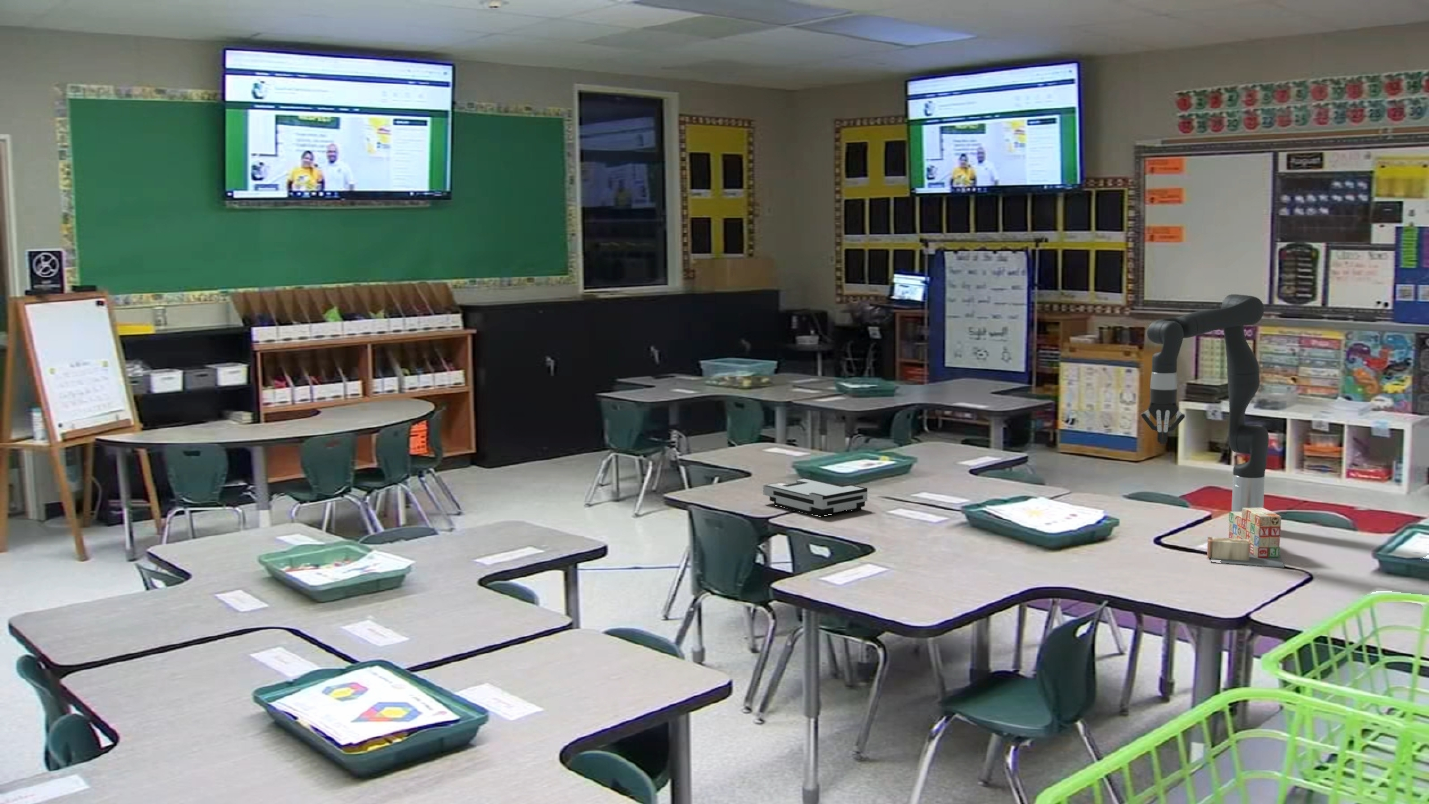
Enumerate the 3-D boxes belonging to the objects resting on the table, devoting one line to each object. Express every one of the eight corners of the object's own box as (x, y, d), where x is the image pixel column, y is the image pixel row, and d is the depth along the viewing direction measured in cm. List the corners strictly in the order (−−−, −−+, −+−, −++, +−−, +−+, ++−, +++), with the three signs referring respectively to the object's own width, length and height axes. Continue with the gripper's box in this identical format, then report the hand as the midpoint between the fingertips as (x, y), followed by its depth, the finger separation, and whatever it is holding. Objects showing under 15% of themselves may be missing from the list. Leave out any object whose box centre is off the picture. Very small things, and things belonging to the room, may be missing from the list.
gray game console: (807, 496, 446) (807, 474, 445) (867, 511, 420) (867, 488, 419) (763, 504, 434) (763, 482, 433) (822, 520, 408) (822, 496, 407)
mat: (1209, 551, 357) (1209, 550, 357) (1280, 556, 350) (1280, 555, 350) (1211, 562, 345) (1211, 561, 345) (1284, 568, 338) (1284, 566, 338)
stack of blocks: (1227, 541, 369) (1229, 501, 368) (1248, 541, 369) (1250, 501, 368) (1258, 557, 348) (1259, 515, 346) (1279, 557, 348) (1281, 515, 346)
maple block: (1207, 537, 353) (1248, 539, 349) (1207, 553, 353) (1248, 556, 350) (1208, 541, 348) (1249, 543, 344) (1207, 557, 349) (1249, 560, 345)
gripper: (1187, 386, 363) (1185, 442, 365) (1140, 385, 367) (1139, 441, 370) (1187, 389, 356) (1185, 447, 358) (1140, 388, 361) (1138, 445, 363)
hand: (1162, 444), depth 364 cm, fingers closed
